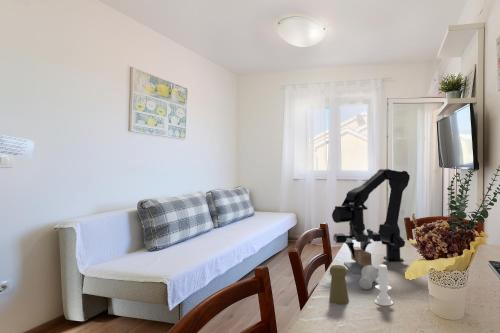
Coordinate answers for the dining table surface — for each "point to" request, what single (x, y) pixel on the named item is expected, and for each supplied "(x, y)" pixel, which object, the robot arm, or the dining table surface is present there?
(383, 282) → the candle
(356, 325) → the dining table surface
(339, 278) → the pepper shaker
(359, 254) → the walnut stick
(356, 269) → the rest mat
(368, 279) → the salt shaker
